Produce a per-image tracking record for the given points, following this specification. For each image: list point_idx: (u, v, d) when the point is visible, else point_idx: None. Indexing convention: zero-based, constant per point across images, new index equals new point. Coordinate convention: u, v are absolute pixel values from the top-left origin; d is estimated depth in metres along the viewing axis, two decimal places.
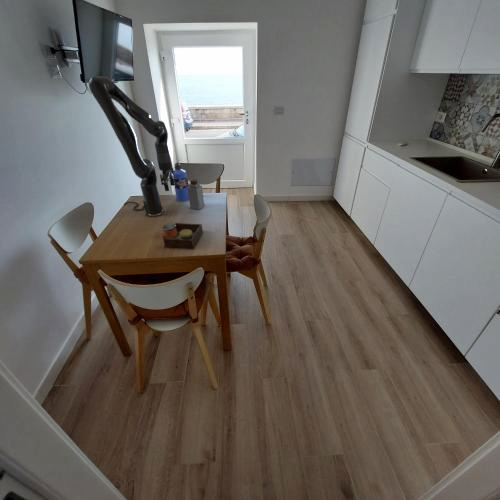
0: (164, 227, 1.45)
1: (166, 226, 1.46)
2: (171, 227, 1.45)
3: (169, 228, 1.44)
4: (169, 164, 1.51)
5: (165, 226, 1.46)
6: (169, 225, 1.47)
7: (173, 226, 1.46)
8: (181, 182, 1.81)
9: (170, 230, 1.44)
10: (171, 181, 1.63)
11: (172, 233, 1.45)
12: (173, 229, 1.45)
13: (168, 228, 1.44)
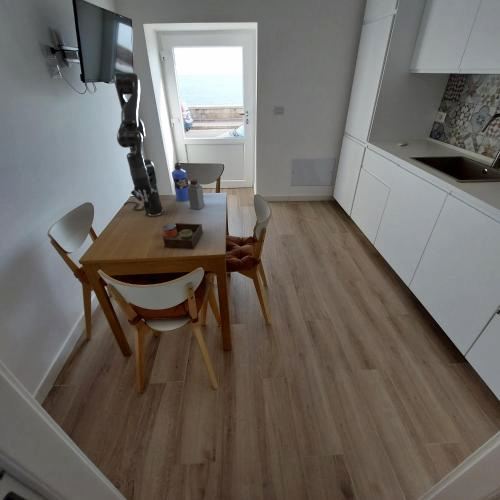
0: (164, 227, 1.45)
1: (166, 226, 1.46)
2: (171, 227, 1.45)
3: (169, 228, 1.44)
4: (133, 180, 1.29)
5: (165, 226, 1.46)
6: (169, 225, 1.47)
7: (173, 226, 1.46)
8: (181, 182, 1.81)
9: (170, 230, 1.44)
10: None
11: (172, 233, 1.45)
12: (173, 229, 1.45)
13: (168, 228, 1.44)
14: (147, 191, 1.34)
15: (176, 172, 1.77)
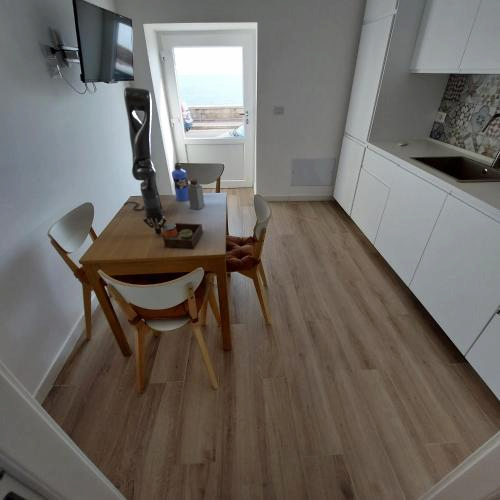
0: (164, 227, 1.45)
1: (166, 227, 1.46)
2: (171, 227, 1.45)
3: (169, 228, 1.44)
4: (146, 210, 1.38)
5: (165, 226, 1.46)
6: (169, 225, 1.47)
7: (173, 226, 1.46)
8: (181, 182, 1.81)
9: (170, 230, 1.44)
10: None
11: (172, 233, 1.45)
12: (173, 229, 1.45)
13: (168, 228, 1.44)
14: (159, 219, 1.42)
15: (176, 172, 1.77)
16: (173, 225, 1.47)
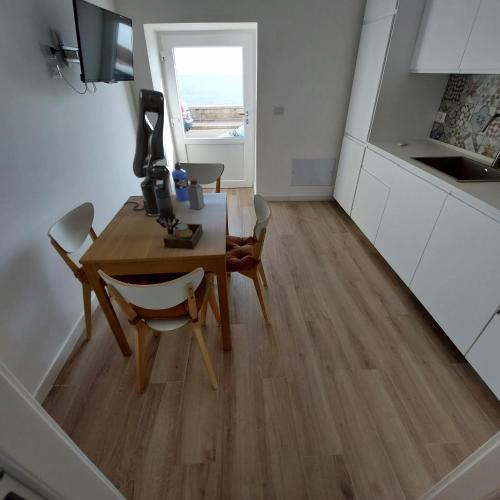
0: (176, 227, 1.45)
1: (178, 227, 1.45)
2: (183, 227, 1.45)
3: (181, 228, 1.44)
4: (159, 210, 1.37)
5: (177, 226, 1.46)
6: (181, 225, 1.47)
7: (185, 226, 1.45)
8: (181, 182, 1.81)
9: None
10: None
11: None
12: None
13: (180, 228, 1.44)
14: (171, 219, 1.42)
15: (176, 172, 1.77)
16: (185, 225, 1.46)
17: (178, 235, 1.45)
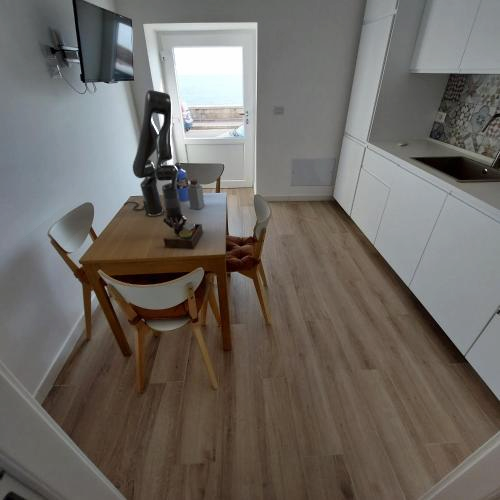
0: (183, 227, 1.45)
1: (185, 227, 1.45)
2: (190, 227, 1.44)
3: (189, 228, 1.44)
4: (167, 210, 1.37)
5: (184, 226, 1.46)
6: (188, 225, 1.46)
7: (192, 226, 1.45)
8: (181, 182, 1.81)
9: None
10: None
11: None
12: (192, 230, 1.44)
13: (188, 228, 1.44)
14: (178, 219, 1.42)
15: None
16: (192, 225, 1.46)
17: None
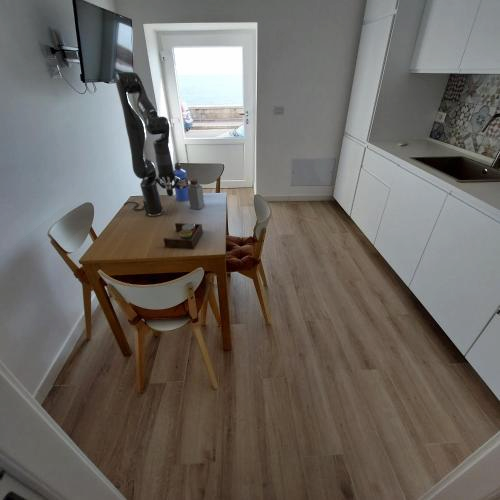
0: (183, 227, 1.45)
1: (185, 227, 1.45)
2: (190, 227, 1.44)
3: (189, 228, 1.44)
4: (159, 167, 1.31)
5: (184, 226, 1.46)
6: (188, 225, 1.46)
7: (192, 226, 1.45)
8: (181, 182, 1.81)
9: None
10: None
11: None
12: (192, 230, 1.44)
13: (188, 228, 1.44)
14: (171, 179, 1.36)
15: (176, 172, 1.77)
16: (192, 225, 1.46)
17: None
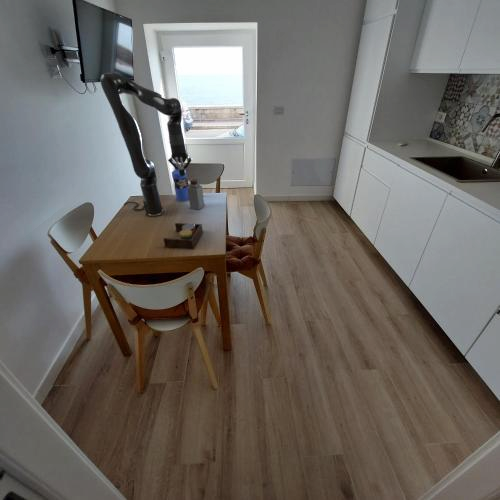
0: (183, 227, 1.45)
1: (185, 227, 1.45)
2: (190, 227, 1.44)
3: (189, 228, 1.44)
4: (172, 147, 1.38)
5: (184, 226, 1.46)
6: (188, 225, 1.46)
7: (192, 226, 1.45)
8: (181, 182, 1.81)
9: None
10: None
11: None
12: (192, 230, 1.44)
13: (188, 228, 1.44)
14: (183, 158, 1.43)
15: (176, 172, 1.77)
16: (192, 225, 1.46)
17: None
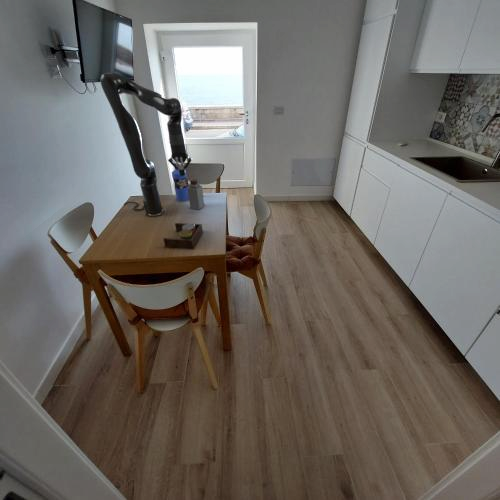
0: (183, 227, 1.45)
1: (185, 227, 1.45)
2: (190, 227, 1.44)
3: (189, 228, 1.44)
4: (172, 147, 1.38)
5: (184, 226, 1.46)
6: (188, 225, 1.46)
7: (192, 226, 1.45)
8: (181, 182, 1.81)
9: None
10: None
11: None
12: (192, 230, 1.44)
13: (188, 228, 1.44)
14: (183, 158, 1.43)
15: (176, 172, 1.77)
16: (192, 225, 1.46)
17: None
